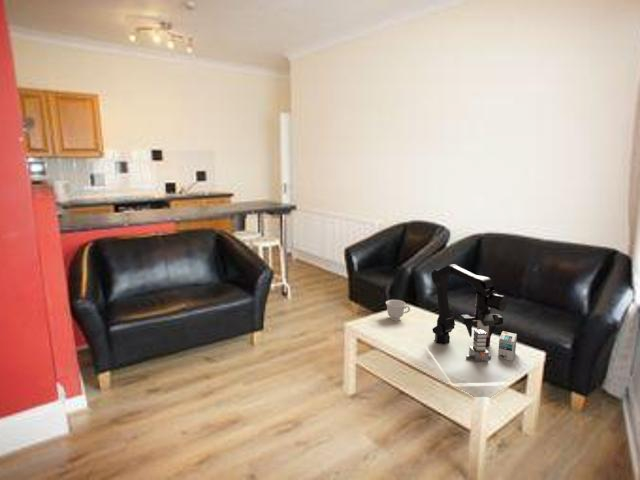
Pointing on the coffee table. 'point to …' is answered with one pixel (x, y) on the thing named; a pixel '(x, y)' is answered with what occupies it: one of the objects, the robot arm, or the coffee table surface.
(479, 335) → the column
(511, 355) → the light bulb box
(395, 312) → the teacup
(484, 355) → the stand base
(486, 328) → the beverage can
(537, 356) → the coffee table surface
